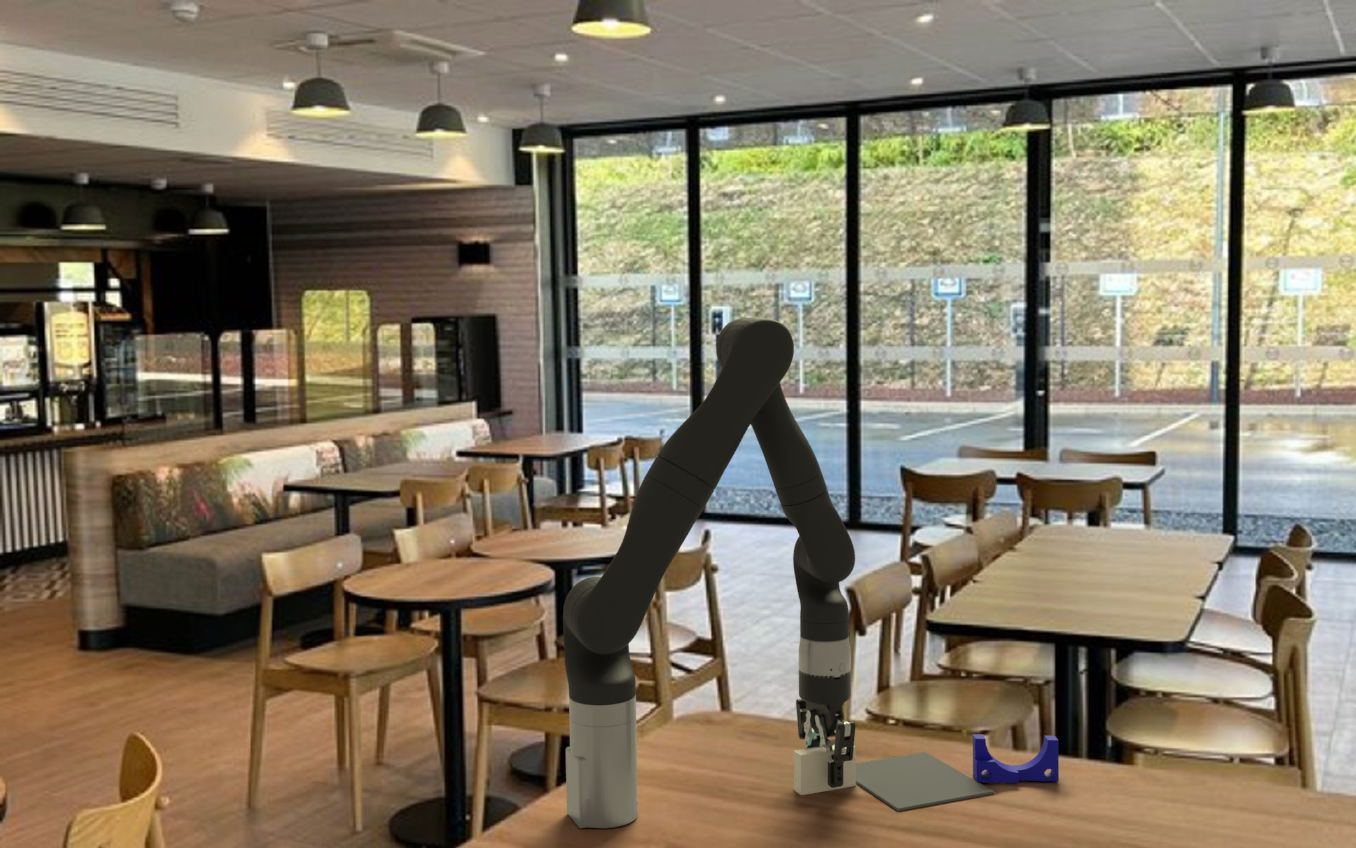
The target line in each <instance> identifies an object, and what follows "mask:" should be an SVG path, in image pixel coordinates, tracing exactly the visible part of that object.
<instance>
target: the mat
mask: <svg viewBox="0 0 1356 848" xmlns="http://www.w3.org/2000/svg"><path fill="white" fill-rule="evenodd" d="M856 785H858V786H859V787H860V788H862V789H864V790H865V791H867V792H868V793H869V794H871V795H873V796H874V797H876V798H877V799H879V800H880V801H882V802H884V803H885V804H887V806H889V807H891V808H892V809H894V810H895V811H896V812H902V811H906V810H912V809H918V808H923V807H929V806H936V805H939V804H944V803H945V804H946V803H950V802H956V801H962V800H966V799H972V798H978V797H979V798H980V797H983V796H988V795H994V794H995V791H994V790H993V789H991V788H989V787H988V786H986V785H984V784H982V782H977V781H976V780H975V778H972V777H970V776H968V775H967V774H964V773H963V772H961V771H959V770H958V769H956V768H954V767H953V766H950V764H947V763H946V762H943V761H941V760H940V759H939V758H937V757H934V755H932V754H930V753H928V752H926V751H922V752H916V753H915V752H914V753H910V754H905V755H898V756H891V757H886V758H879V759H875V760H869V761H861V762H856Z"/></svg>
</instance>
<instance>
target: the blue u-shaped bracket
mask: <svg viewBox="0 0 1356 848" xmlns="http://www.w3.org/2000/svg"><path fill="white" fill-rule="evenodd" d="M986 740H987V739H986V737H985V735H984V734H982V733H981V734H980V733H979V734H978V733H976V734H975V733H973V734H972V775H973V779H974V780H975V781H977V782H979V783H1000V784H1001V783H1003V784H1007V783H1010V784H1019V781H1022V782H1023V781H1026V782H1027V781H1031V782H1036V781H1038V782H1059V778H1060V777H1059V775H1060V774H1059V767H1060V766H1059V763H1060V762H1059V739H1058V738H1057V736H1056V735H1043V743H1042V746H1041V748H1040V751H1039V752H1038V754H1037V755H1036V756H1034V757H1033V758H1032V759H1030V760H1029V761H1027V762H1025V763H1021V764H1014V765H1013V764H1008V763H1004V762H1001V761H999V760H998V759H996V758H995V757H994V756H993V755H992V754H991V753H990V752H989V749H988V747H987V741H986ZM1048 770H1050V772H1049V773H1046V771H1048Z"/></svg>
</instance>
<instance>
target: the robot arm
mask: <svg viewBox="0 0 1356 848" xmlns="http://www.w3.org/2000/svg"><path fill="white" fill-rule="evenodd" d="M716 340H717V341H716V342H715V343H716V346H715V351H716V353H715V354H716V358H717V360H718V364H719V366H720V367H721V370H720V372H719V374H718V377H717V379H715V382H714V383H713V386H712V388H711V389H710V391H709V393H708V394H707V396H706V397H705V399H704V400H703V401H702V403H700V405H699V406H698V407H697V408H696V409H695V410H694V411H693V412H692V413H691V414H690V415H689V416H688V417H687V418H686V419H685V421H683V423H682V424H681V425H680V426H679V427H678V428H677V429H676V430H675V431H674V432H673V433H672V435H671V436H670V437H669V438H668V439H667V441H666V442H665V443H664V445H663V446H662V448H661V449H660V450H659V452H658V453H657V454H656V455H657V456H656V457H655V459H654V460H653V462H652V464H651V466H649V469H648V470H647V472H646V474H645V476H644V478H643V479H642V482H641V484H640V486H639V488H638V490H637V493H636V495H635V498H634V501H633V504H632V508H631V510H630V511H631V512H630V516H629V518H628V522H627V526H626V529H625V533H624V536H623V538H622V542H621V544H620V546H619V548H618V550H617V552H616V554H615V555H614V556H613V558H612V560H611V562H610V563H609V565H608V567H607V568H606V570H605V571H604V573H602V575H601V576H590V577H586V578H584V579H581V580H579V582H577V583H576V584H574V585H573V587H571V589H570V590H569V592H568V594H567V595H566V598H565V600H564V604H563V612H562V629H563V630H562V631H563V634H562V635H563V649H564V650H563V651H564V668H565V675H566V679H567V684H568V708H569V711H568V712H569V746H567V747H566V748H565V775H566V776H565V779H566V780H565V781H566V785H565V786H566V813H567V815H568V816H569V817H570V818H571V820H572V821H573V823H574V824H576V825H577V827H578V828H579V829H585V828H591V829H592V828H595V829H611V828H612V829H613V828H617V827H618V828H619V827H621V826H625V825H628V824H630V823H631V822H634V821H635V820H636V819H637V818H638V814H639V812H638V811H639V810H638V808H639V801H638V800H639V796H638V749H637V747H638V745H637V744H638V743H637V740H638V739H637V694H636V693H637V692H636V690H637V687H636V685H637V683H636V682H637V681H636V675H635V672H634V669H633V665H632V662H631V656H630V646H629V645H630V643H631V642H632V640H633V639H634V638H635V637H636V635H637V634H638V632H639V630H640V627H641V625H642V623H643V621H644V619H645V618H646V614H647V612H648V610H649V607H650V606H651V603H652V601H653V598H654V597H655V594H656V593H657V589H658V588H659V585H660V584H661V582H662V579H663V577H664V575H665V574H666V572H667V570H668V568H669V567H670V564H672V561H674V559H675V557H676V555H677V553H678V552H679V551H680V548H681V547H682V545H683V544H684V542H685V540H686V539H687V537H688V535H689V533H690V531H691V530H692V528H693V527H694V525H695V523H696V522H697V520H698V519H699V517H700V515H702V514H701V513H702V512H703V511H704V509H705V508H706V505H707V504H708V502H709V500H710V499H711V498H712V495H713V494H714V492H715V490H716V488H717V486H718V484H719V482H720V481H721V478H722V476H723V474H724V473H725V471H726V469H727V468H728V466H729V464H730V462H731V460H732V459H733V458H734V455H735V453H736V452H737V450H738V447H739V446H740V444H741V442H742V440H743V438H744V437H745V434H746V433H747V431H748V429H749V427H750V426H751V428H752V429H753V430H752V431H753V432H754V435H755V437H756V440H757V442H758V445H759V448H760V451H761V452H762V455H763V458H764V460H765V464H766V466H767V469H768V472H769V475H770V477H771V480H772V483H773V487H774V489H775V492H776V495H777V498H778V501H779V503H780V506H781V508H782V511H783V513H784V515H785V517H786V518H787V519H788V520H789V522H790V523H791V524H792V525H793V526H794V528H795V529H796V531H797V534H798V538H797V539H796V541H795V543H794V548H793V555H792V561H793V563H792V564H793V573H794V579H795V584H796V585H795V586H796V590H797V591H796V592H797V595H798V599H799V606H800V610H799V611H800V612H799V617H800V618H799V621H800V622H799V624H800V626H799V633H800V634H799V635H800V637H799V643H798V644H799V645H798V696H799V698H796V699H795V700H796V701H795V707H796V708H795V709H796V718H797V734H798V738H799V739H800V740H803V742H804V745H803V746H805V748H806V749H807V748H814V747H820V746H823V747H825V748H826V752H827V757H828V761H829V762H828V786H830V787H831V788H835V787H840V786H842V785H843V763H844V761H851V760H852V759H853V749H854V746H855V738H856V737H855V736H856V723H855V722H854V721H853V720H852V721H847V720H846V719H845V714H844V709H843V705H844V704H845V703H846V702H848V700H850V698H851V696H852V694H851V692H852V690H851V689H852V685H851V682H852V678H851V677H852V675H851V673H852V670H851V669H852V667H851V666H852V665H851V661H852V659H851V658H852V657H851V655H852V654H851V644H850V625H849V624H850V621H849V620H850V613H849V612H850V611H849V605H848V602H847V600H846V598H845V597H844V596H843V594H842V592H841V588H840V587H841V586H840V582H843V581H845V580H846V579H847V578H848V577H850V575H851V574H852V572H853V570H854V568H855V565H856V564H855V563H856V552H855V547H854V544H853V541H852V538H851V535H850V533H849V532H848V530H847V527H846V526H845V524H844V522H843V520H842V518H841V516H840V515H839V512H838V511H837V509H836V507H835V506H834V503H833V502H832V500H831V497H830V494H829V490H828V486H827V484H826V481H825V478H824V475H823V472H822V470H821V467H820V464H819V461H818V459H817V456H816V454H815V452H814V450H813V449H812V446H811V444H810V442H809V441H808V439H807V437H806V435H805V434H804V432H803V430H802V429H801V427H800V425H799V423H798V422H797V419H796V418H795V416H794V414H793V412H792V411H791V409H790V407H789V405H788V402H787V399H786V397H785V395H784V391H783V389H782V385H781V382H782V380H783V379H784V377H785V376H786V375H787V373H788V371H789V369H790V368H791V365H792V363H793V359H794V354H795V344H794V339H793V336H792V334H791V332H790V331H789V329H788V327H786V326H785V324H783V323H781V322H780V321H778V320H776V319H773V318H767V317H740V318H736V319H734V320H732V321H730V322H728V323H727V324H726V325H725V326H723V328H722V330H720V332H719V334H718V337H717V339H716ZM829 738H835V739H829ZM833 745H835V748H834V754H833V749H832V746H833ZM845 747H846V752H845Z"/></svg>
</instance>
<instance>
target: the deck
mask: <svg viewBox="0 0 1356 848" xmlns="http://www.w3.org/2000/svg"><path fill="white" fill-rule="evenodd" d="M819 746H820V747H814V748H807V747H806V748H802V749H795V750H793V791H794V790H795V791H794V792H796V793H797V794H799V795H800V796H805V795H809V794H810V795H811V794H815V793H821V792H828V791H834V790H839V789H845V788H851V787H855V786H856V785H857V784H856V763H857V762H856V749H857V747H856V745H854V749H853V759H852V760H851V761H844V763H843V785H842V786H840V787H835V788H831V787H830V786H828V762H829V761H828V757H827V752H826V748H825V747H823V746H822V745H819ZM834 748H835V745H833V746H832V749H833V754H834ZM845 752H846V747H845Z"/></svg>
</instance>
